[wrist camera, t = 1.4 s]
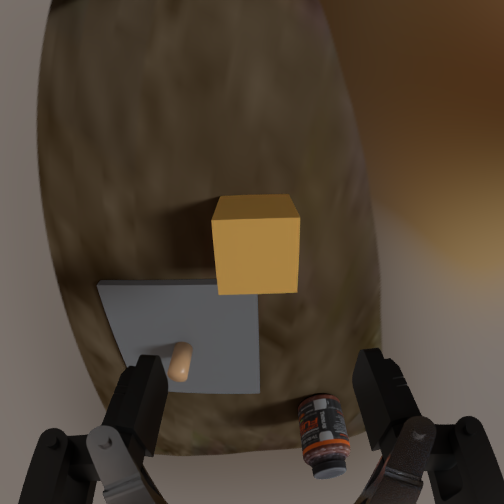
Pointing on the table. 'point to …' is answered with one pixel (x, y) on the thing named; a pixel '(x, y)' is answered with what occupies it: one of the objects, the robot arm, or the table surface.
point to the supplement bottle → (323, 435)
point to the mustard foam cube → (256, 244)
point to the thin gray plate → (187, 332)
